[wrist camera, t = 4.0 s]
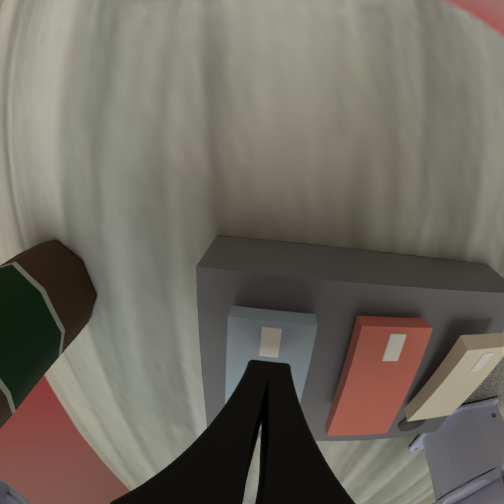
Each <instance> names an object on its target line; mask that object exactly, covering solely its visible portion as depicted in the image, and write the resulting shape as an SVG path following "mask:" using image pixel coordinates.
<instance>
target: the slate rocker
mask: <svg viewBox="0 0 504 504" xmlns="http://www.w3.org/2000/svg"><path fill="white" fill-rule="evenodd" d="M317 327H318V324H317V319H316V314H309V313H298V312H287V311H277V310H268V309H259V308H250V307H241V306H233V305H232V307H231V310H230V312H229V315H228V324H227V352H226V384H225V404H226V403H227V401H228V400H229V398H230V396H231V395H232V393H233V392H234V390H235V389H236V387H237V385H238V383H239V382H240V380H241V378H242V376H243V374H244V372H245V369H246V367H247V364H248V361H250V360H252V359H253V360H261V361H270V362H280V363H288V364H289V365H290V366H291V373H292V378H293V382H294V386H295V390H296V393H297V397H298V400H299V403H300V401H301V397H302V393H303V389H304V385H305V381H306V377H307V373H308V369H309V364H310V360H311V355H312V351H313V346H314V341H315V337H316V332H317ZM259 431H261V426H260V430H259Z"/></svg>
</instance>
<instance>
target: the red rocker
mask: <svg viewBox="0 0 504 504" xmlns="http://www.w3.org/2000/svg"><path fill="white" fill-rule="evenodd" d="M432 330H433V327H432V326H431V325H430V324H429V323H428V321H427V320H426V319H425V318H399V317H377V316H359V315H357V317H356V322H355V326H354V330H353V334H352V338H351V342H350V345H349V349H348V353H347V357H346V360H345V364H344V367H343V370H342V374H341V377H340V380H339V384H338V387H337V390H336V393H335V396H334V399H333V402H332V405H331V408H330V411H329V414H328V417H327V420H326V422H325V425H326V434H327V436H344V435H369V434H383V433H387V432H388V430H389V428H390V426H391V425H392V423H393V421H394V419H395V417H396V415H397V413H398V411H399V409H400V407H401V405H402V403H403V401H404V399H405V397H406V395H407V393H408V390H409V388H410V386H411V384H412V381H413V379H414V377H415V374H416V372H417V370H418V367H419V365H420V362H421V360H422V357H423V355H424V352H425V349H426V347H427V344H428V341H429V338H430V335H431V332H432Z"/></svg>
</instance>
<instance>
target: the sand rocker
mask: <svg viewBox="0 0 504 504" xmlns="http://www.w3.org/2000/svg"><path fill="white" fill-rule="evenodd" d="M503 356H504V333H493V334H475V335H460V337H459V338H458V340H457V342H456V343H455V345H454V346H453V348H452V349H451V350H450V352H449V353H448V355H447V356H446V358H445V359H444V360H443V362H442V363H441V365H440V366H439V367H438V369H437V370H436V371H435V373H434V374H433V375H432V376H431V378H430V379H429V380H428V382H427V383H426V384H425V385H424V387H423V388H422V389H421V390H420V391H419V393H418V394H417V395H416V396H415V397H414V398H413V400H412V401H411V402H410V403H409V404H408V405H407V406H406V408H405V412H406V418H407V421H414V420H422V419H429V418H435V417H441V416H447V415H451V414H452V413H453V412H454V411H455V410H456V409H457V408H458V407H459V406H460V405H461V404H462V403H463V402H464V401H465V400H466V399H467V398H468V397H469V396H470V395H471V394H472V393H473V392H474V391H475V389H476V388H477V387H478V386H479V385H480V384H481V383H482V382H483V381H484V379H485V378H486V377H487V376H488V375H489V374H490V372H491V371H492V370H493V369H494V368H495V366H496V365H497V364H498V363H499V361H500V360H501V359H502V358H503Z"/></svg>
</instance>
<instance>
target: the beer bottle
mask: <svg viewBox="0 0 504 504" xmlns="http://www.w3.org/2000/svg"><path fill="white" fill-rule="evenodd" d="M95 297H96V293H95V291H94V289H93V286H92V284H91V282H90V279H89V277H88V274H87V272H86V269H85V267H84V264H83V262H82V260H80V259H79V258H78V257H76V256H75V255H74V254H73V253H71V252H70V251H69V250H68V249H67V248H65V247H64V246H63V245H62V244H61V243H59V242H58V241H56V240H52V241H49V242H46V243H43V244H40V245H37V246H34V247H32V248H30V249H28V250H26V251H24V252H22V253H20V254H18V255H16V256H15V257H13V258H12V259H10V260H8V261H7V262H5V263H4V264H2V265H1V266H0V428H1V427H2V426H3V425H4V424H5V422H6V421H7V420H8V419H9V418H10V417H11V416H12V415H13V413H14V412H15V411H16V409H17V408H18V407H19V405H20V404H21V403H22V402H23V400H24V399H25V398H26V396H27V395H28V394H29V393H30V391H31V390H32V389H33V387H34V386H35V385H36V384H37V382H38V381H39V380H40V379H41V377H42V376H43V375H44V374H45V373H46V372H47V370H48V369H49V368H50V367H51V366H52V364H53V363H54V362H55V361H56V360H57V358H58V357H59V356H60V355H61V354H62V353H63V351H64V350H65V349H66V348H67V347H68V346H69V345H70V343H71V342H72V341H73V340H74V339H75V338H76V337H77V335H78V334H79V333H80V332H81V330H82V329H83V328H84V327H85V325H86V324H87V323H88V321H89V318H90V314H91V311H92V307H93V304H94V301H95Z"/></svg>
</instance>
